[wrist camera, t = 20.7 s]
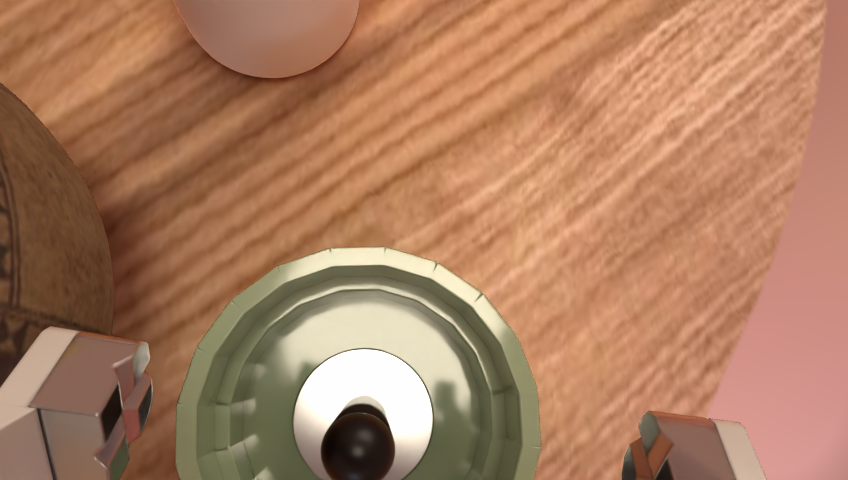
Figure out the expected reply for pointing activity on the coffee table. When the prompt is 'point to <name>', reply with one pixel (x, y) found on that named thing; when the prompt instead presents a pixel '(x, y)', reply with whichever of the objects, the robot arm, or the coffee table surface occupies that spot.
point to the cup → (269, 32)
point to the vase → (46, 239)
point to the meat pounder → (363, 417)
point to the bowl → (348, 329)
